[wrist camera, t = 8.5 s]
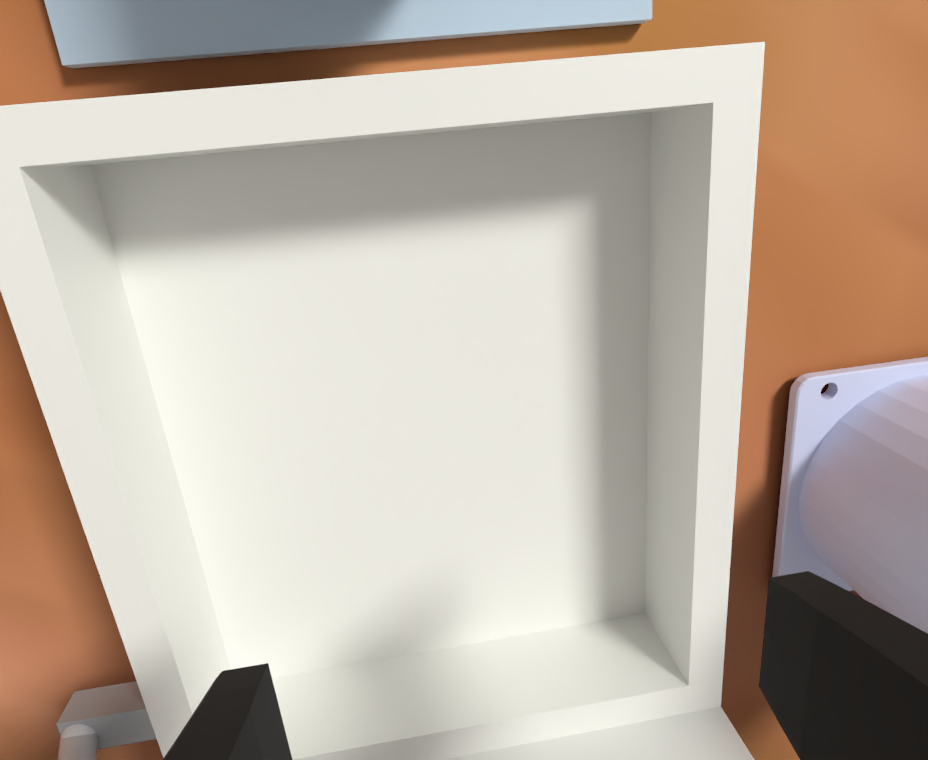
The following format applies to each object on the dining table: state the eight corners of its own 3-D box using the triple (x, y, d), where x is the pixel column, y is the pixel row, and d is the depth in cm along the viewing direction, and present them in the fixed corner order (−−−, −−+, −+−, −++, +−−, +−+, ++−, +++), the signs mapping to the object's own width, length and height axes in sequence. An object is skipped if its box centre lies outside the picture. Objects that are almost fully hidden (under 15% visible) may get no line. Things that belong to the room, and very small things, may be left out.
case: (682, 66, 15) (971, -20, 8) (666, 645, 22) (821, 902, 14) (-62, 130, 14) (-573, 99, 6) (152, 737, 20) (20, 1083, 13)
